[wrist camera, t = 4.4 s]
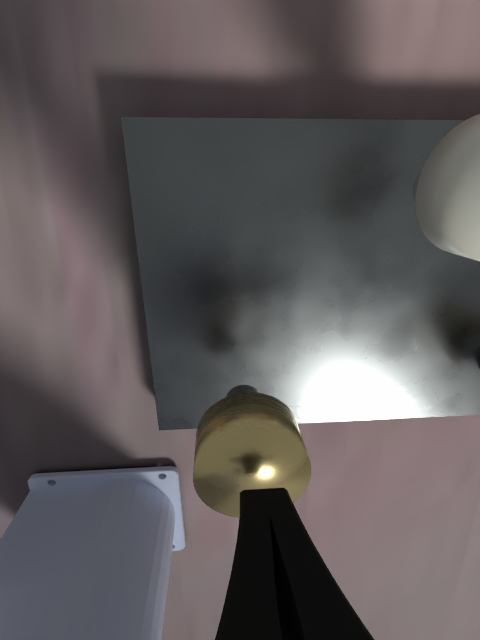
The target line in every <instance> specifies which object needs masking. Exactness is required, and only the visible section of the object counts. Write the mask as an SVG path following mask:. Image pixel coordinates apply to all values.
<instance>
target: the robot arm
mask: <svg viewBox="0 0 480 640" xmlns="http://www.w3.org/2000/svg"><path fill="white" fill-rule="evenodd" d="M163 474H164V475H163ZM53 480H54V481H53ZM28 486H29V489H30V492H29V493H28V495H27V497H26V498H25V500H24V502H23V503H22V505H21V507H20V508H19V510H18V511H17V513H16V515H15V516H14V518H13V520H12V521H11V523H10V525H9V526H8V528H7V530H6V531H5V533H4V535H3V536H2V538H1V539H0V640H161V637H162V629H163V621H164V612H165V604H166V596H167V587H168V579H169V571H170V562H171V554H172V551H178V550H182V549H183V548H184V547H185V533H184V523H183V513H182V503H181V493H180V483H179V473H178V469H177V468H176V467H173V466H162V467H144V468H126V469H108V470H90V471H72V472H54V473H36V474H33V475H31V477H30V478H29V480H28ZM215 640H374V639H373V637H372V636H371V634H370V633H369V632H368V630H367V629H366V627H365V626H364V624H363V623H362V621H361V620H360V618H359V617H358V615H357V614H356V612H355V611H354V609H353V608H352V606H351V605H350V603H349V602H348V600H347V599H346V597H345V595H344V594H343V592H342V591H341V589H340V588H339V586H338V585H337V583H336V581H335V580H334V578H333V576H332V575H331V573H330V571H329V570H328V568H327V566H326V565H325V563H324V561H323V559H322V558H321V556H320V554H319V552H318V551H317V549H316V547H315V546H314V544H313V542H312V540H311V538H310V536H309V535H308V533H307V531H306V529H305V527H304V525H303V523H302V521H301V519H300V517H299V515H298V513H297V511H296V509H295V507H294V504H293V502H292V500H291V498H290V495H289V493H288V490H287V489H285V488H267V489H250V490H243V491H242V492H240V519H239V529H238V537H237V543H236V549H235V555H234V561H233V566H232V572H231V576H230V581H229V585H228V590H227V594H226V598H225V603H224V607H223V611H222V615H221V619H220V623H219V627H218V631H217V634H216V638H215Z"/></svg>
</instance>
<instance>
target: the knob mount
mask: <svg viewBox="0 0 480 640" xmlns="http://www.w3.org/2000/svg"><path fill="white" fill-rule="evenodd" d="M463 121H465V120H408V119H302V118H197V117H121V124H122V132H123V140H124V148H125V157H126V165H127V173H128V181H129V189H130V197H131V205H132V213H133V222H134V230H135V238H136V246H137V254H138V262H139V270H140V279H141V287H142V295H143V303H144V311H145V319H146V327H147V335H148V344H149V352H150V360H151V368H152V376H153V384H154V392H155V401H156V409H157V417H158V425H159V430H174V429H194V428H197V427H198V424H199V421H200V419H201V418H202V416H203V415H204V413H205V412H206V411H207V410H208V409H209V408H210V407H211V406H212V405H213V404H215V403H216V402H218V401H219V400H221V399H223V398H225V397H226V395H227V393H228V392H229V391H230V390H231V389H232V388H234V387H236V386H238V385H249V386H252V387H254V388H255V389H256V390H257V391H258V392H259V393H262V394H267V395H270V396H272V397H275V398H277V399H279V400H280V401H282V402H283V403H285V404H286V405H287V406H288V407H289V408H290V410H291V411H292V412H293V414H294V416H295V418H296V421H297V423H318V422H338V421H359V420H379V419H400V418H420V417H441V416H461V415H480V261H477V260H473V259H470V258H466V257H463V256H459V255H456V254H453V253H449V252H446V251H444V250H441V249H440V248H438V247H436V246H435V245H434V244H432V243H431V242H430V241H429V240H428V239H427V238H426V236H425V235H424V233H423V232H422V230H421V228H420V225H419V223H418V219H417V215H416V208H415V202H414V199H413V195H412V189H413V184H414V181H415V179H416V177H417V176H418V174H419V173H420V172H421V171H422V169H423V167H424V165H425V163H426V161H427V159H428V157H429V156H430V154H431V153H432V151H433V150H434V148H435V147H436V146H437V144H438V143H439V142H440V141H441V140H442V139H443V138H444V137H445V135H446V134H447V133H449V132H450V131H451V130H452V129H453V128H455V127H456V126H457V125H459V124H460V123H462V122H463Z"/></svg>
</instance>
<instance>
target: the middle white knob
mask: <svg viewBox="0 0 480 640" xmlns="http://www.w3.org/2000/svg"><path fill="white" fill-rule="evenodd" d="M412 195H413V199H414V202H415V208H416V215H417V219H418V223H419V225H420V228H421V230H422V232H423V233H424V235H425V236H426V238H427V239H428V240H429V241H430V242H431V243H432V244H434V245H435V246H436V247H438V248H440V249H441V250H444V251H446V252H449V253H453V254H456V255H459V256H463V257H466V258H470V259H473V260H477V261H480V114H478V115H475V116H473V117H471V118H469V119H467V120H465V121H463V122H462V123H460V124H459V125H457V126H456V127H455V128H453V129H452V130H451V131H450V132H449V133H447V134H446V135H445V137H444V138H443V139H442V140H441V141H440V142H439V143H438V144H437V146H436V147H435V148H434V150H433V151H432V153H431V154H430V156H429V157H428V159H427V161H426V163H425V165H424V167H423V169H422V171H421V172H420V173H419V174H418V176H417V177H416V179H415V181H414V184H413V189H412Z"/></svg>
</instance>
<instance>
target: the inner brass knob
mask: <svg viewBox="0 0 480 640" xmlns="http://www.w3.org/2000/svg"><path fill="white" fill-rule="evenodd" d="M310 477H311V463H310V460H309V457H308V454H307V451H306V448H305V445H304V442H303V439H302V436H301V433H300V430H299V427H298V424H297V421H296V418H295V416H294V414H293V412H292V411H291V410H290V408H289V407H288V406H287V405H286V404H285V403H283V402H282V401H280V400H279V399H277V398H275V397H272V396H270V395H267V394H262V393H259V392H258V391H257V390H256V389H255V388H254V387H252V386H249V385H238V386H236V387H234V388H232V389H231V390H230V391H229V392H228V393H227V395H226V397H225V398H223V399H221V400H219V401H218V402H216V403H215V404H213V405H212V406H211V407H210V408H209V409H208V410H207V411H206V412H205V413H204V415H203V416H202V418H201V419H200V421H199V424H198V427H197V432H196V445H195V458H194V471H193V483H194V487H195V490H196V492H197V494H198V496H199V497H200V498H201V500H202V501H203V502H204V503H205V504H206V505H207V506H209V507H210V508H212V509H213V510H215V511H217V512H219V513H222V514H224V515H228V516H232V517H239V518H240V492H242V491H243V490H250V489H267V488H285V489H287V490H288V493H289V495H290V498H291V500H292V502H295V501H296V500H297V499H298V498H299V497H300V496H301V495H302V493H303V492H304V491H305V489H306V487H307V486H308V483H309V481H310Z"/></svg>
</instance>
